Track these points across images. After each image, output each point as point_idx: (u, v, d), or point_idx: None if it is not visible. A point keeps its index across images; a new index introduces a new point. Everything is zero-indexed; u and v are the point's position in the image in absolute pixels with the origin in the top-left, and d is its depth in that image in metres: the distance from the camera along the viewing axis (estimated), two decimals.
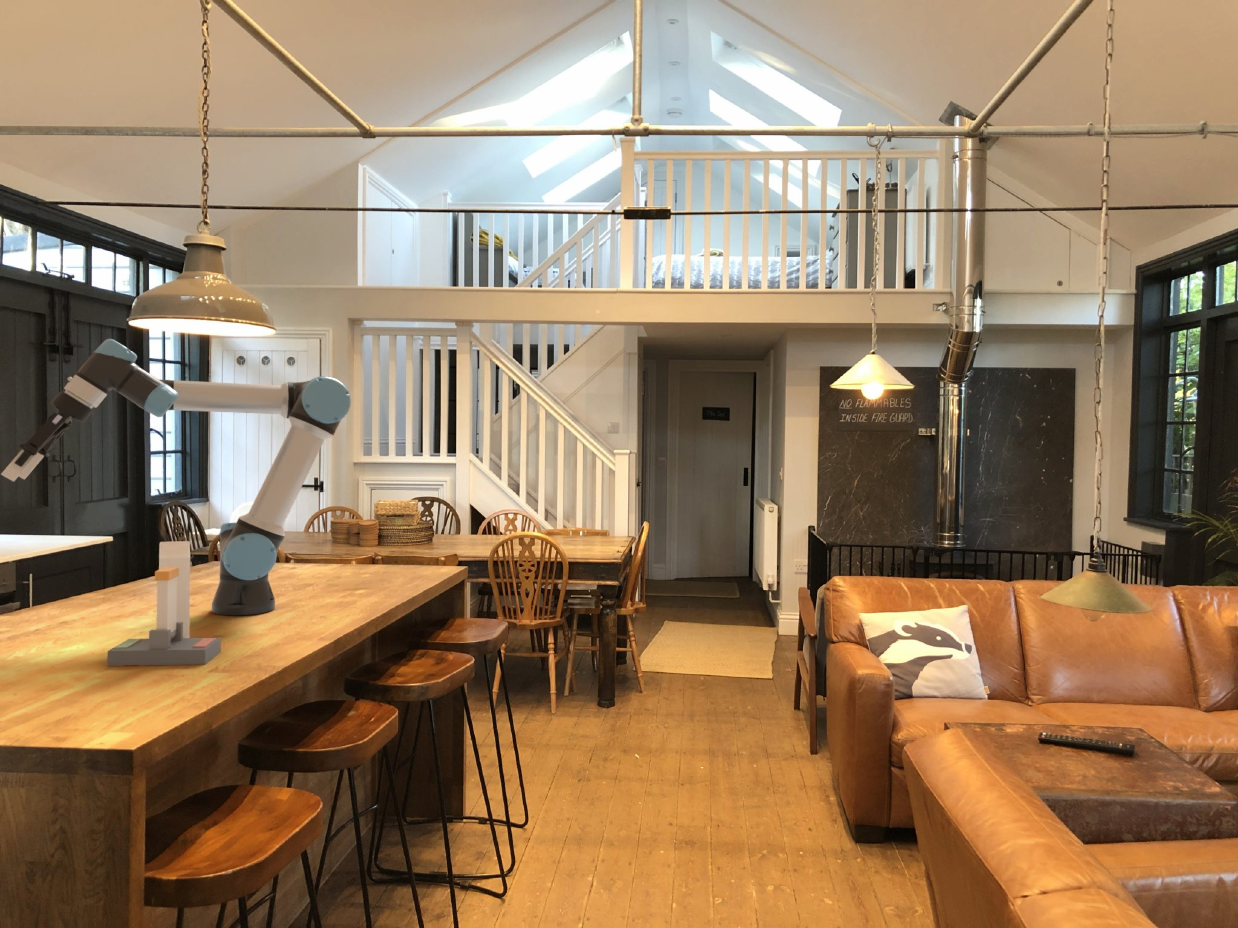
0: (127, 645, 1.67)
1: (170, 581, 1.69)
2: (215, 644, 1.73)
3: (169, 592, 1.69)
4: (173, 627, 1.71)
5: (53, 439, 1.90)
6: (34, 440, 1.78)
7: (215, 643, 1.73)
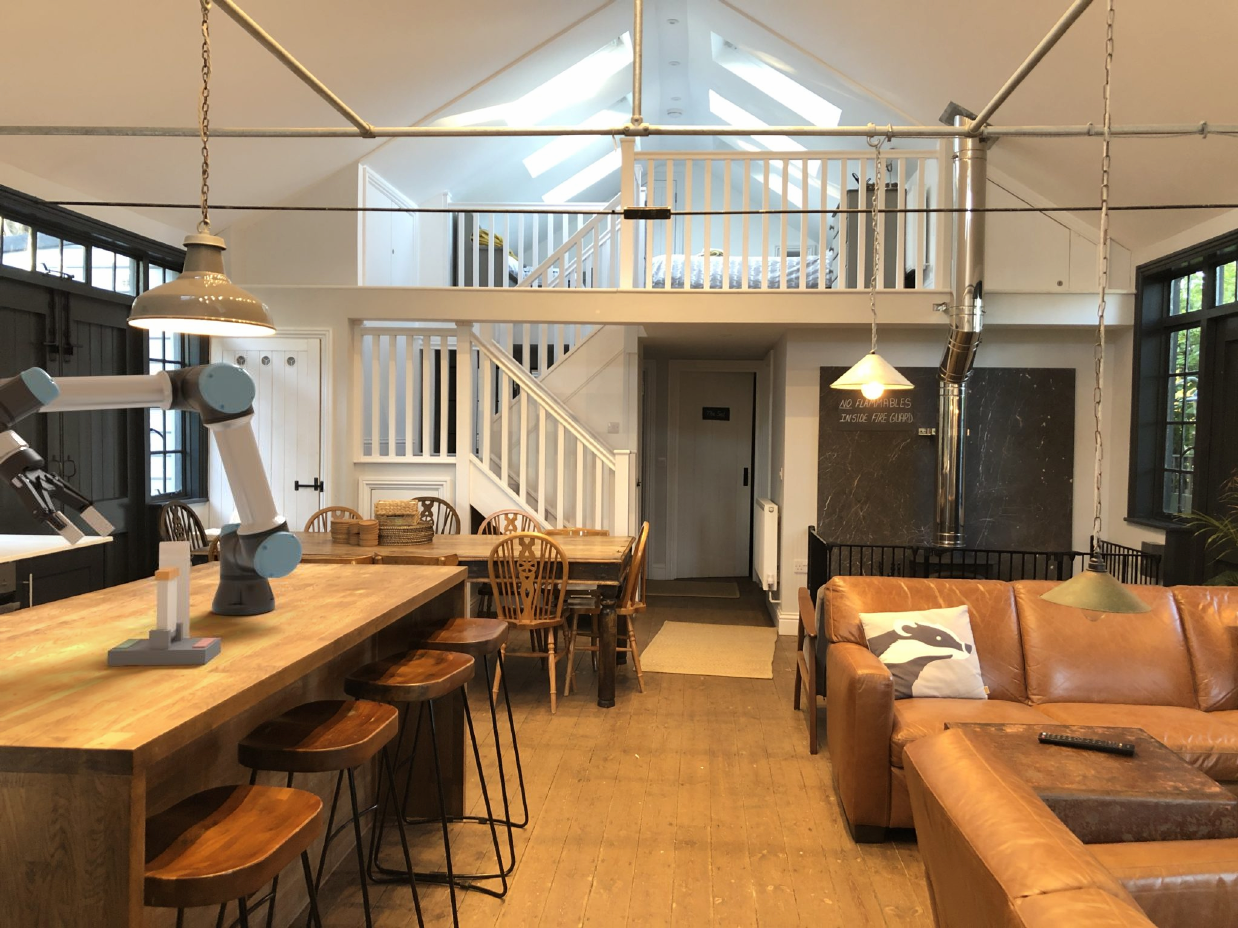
0: (127, 645, 1.67)
1: (170, 581, 1.69)
2: (215, 644, 1.73)
3: (169, 592, 1.69)
4: (173, 627, 1.71)
5: (66, 492, 1.70)
6: (32, 507, 1.57)
7: (215, 643, 1.73)
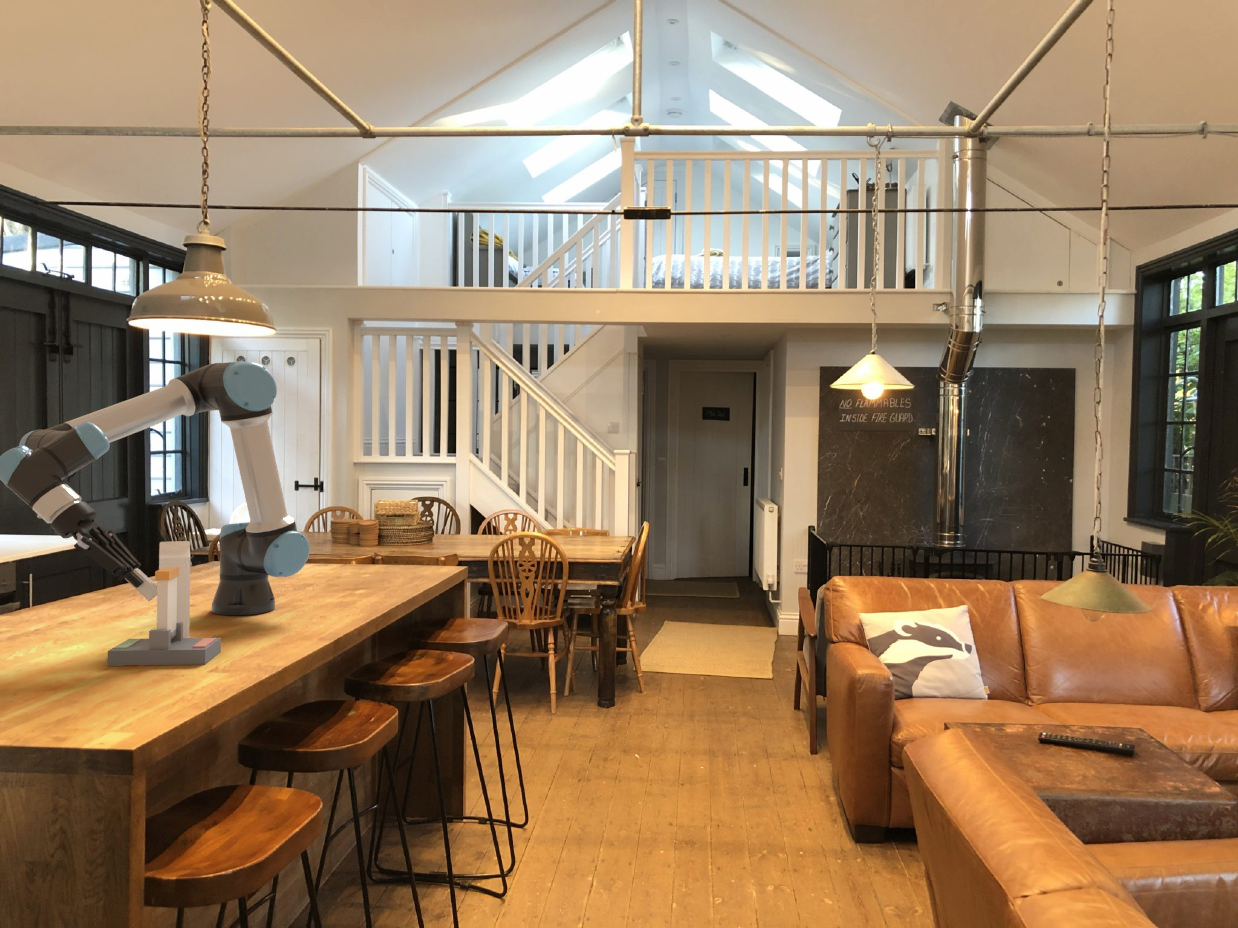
0: (127, 645, 1.67)
1: (170, 581, 1.69)
2: (215, 644, 1.73)
3: (169, 592, 1.69)
4: (173, 627, 1.71)
5: (113, 548, 1.69)
6: (110, 568, 1.64)
7: (215, 643, 1.73)
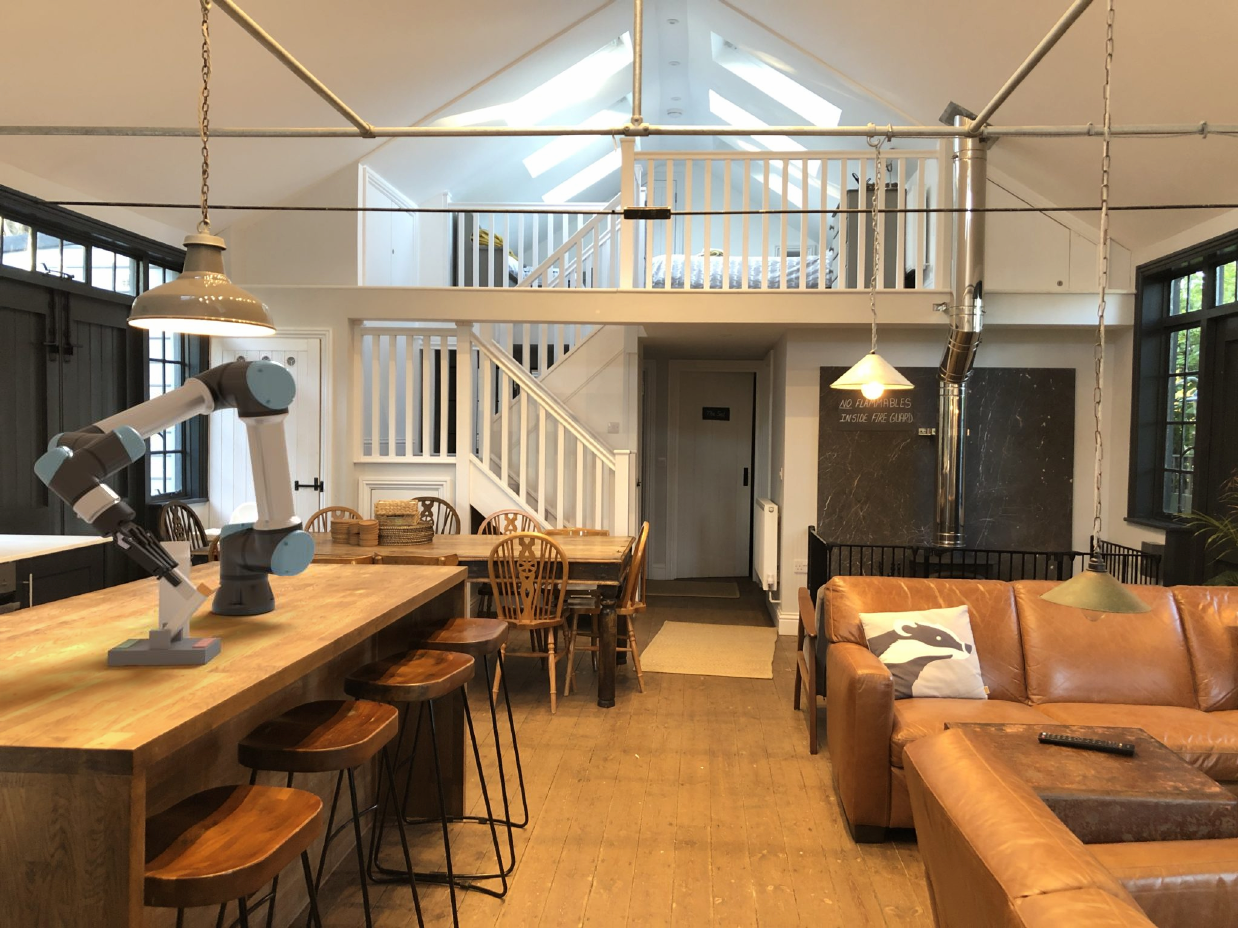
0: (127, 645, 1.67)
1: (206, 596, 1.70)
2: (215, 644, 1.73)
3: (198, 605, 1.70)
4: (176, 632, 1.71)
5: (152, 548, 1.70)
6: (150, 567, 1.66)
7: (215, 643, 1.73)
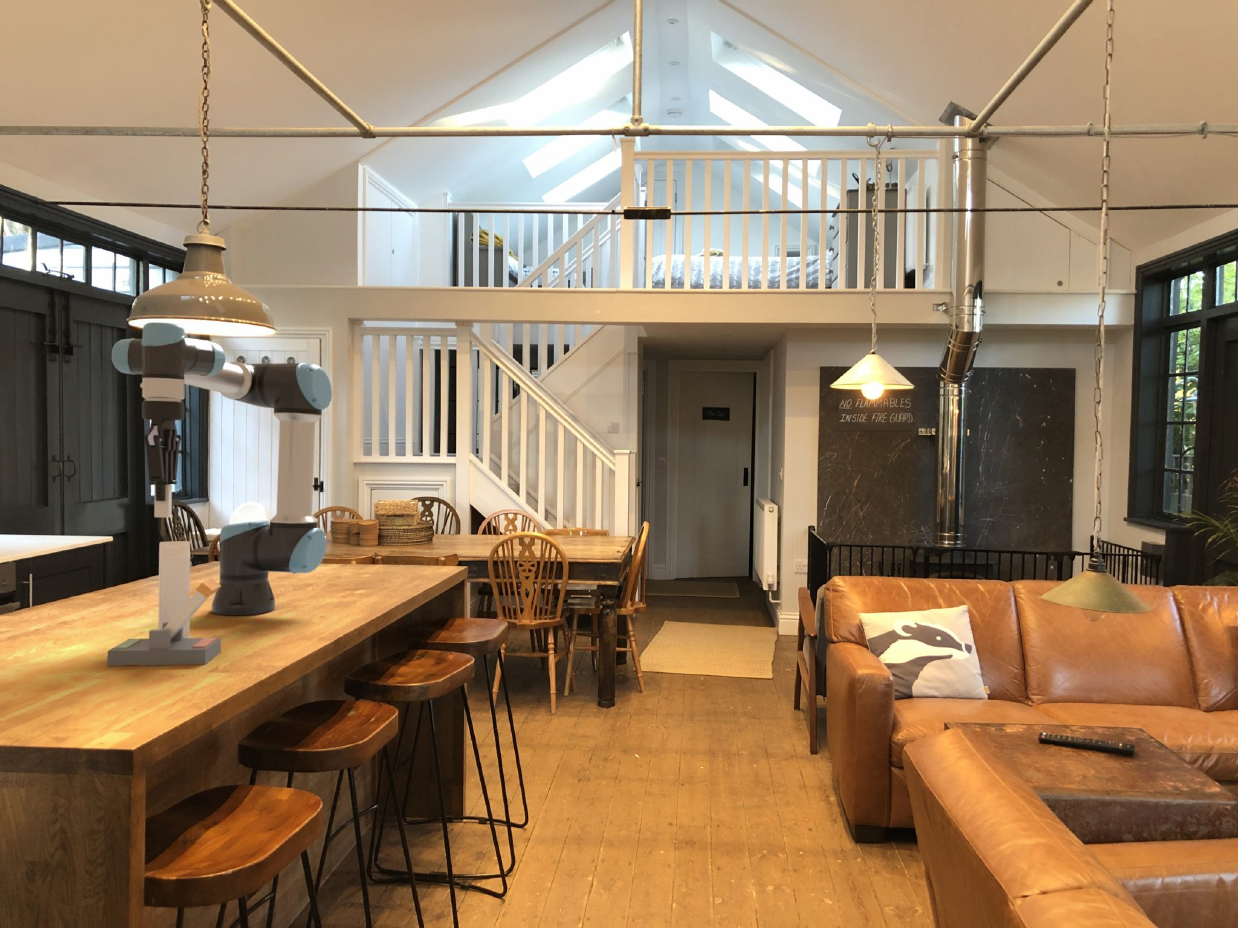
0: (127, 645, 1.67)
1: (206, 596, 1.70)
2: (215, 644, 1.73)
3: (198, 605, 1.70)
4: (176, 632, 1.71)
5: (169, 455, 1.70)
6: (153, 472, 1.65)
7: (215, 643, 1.73)
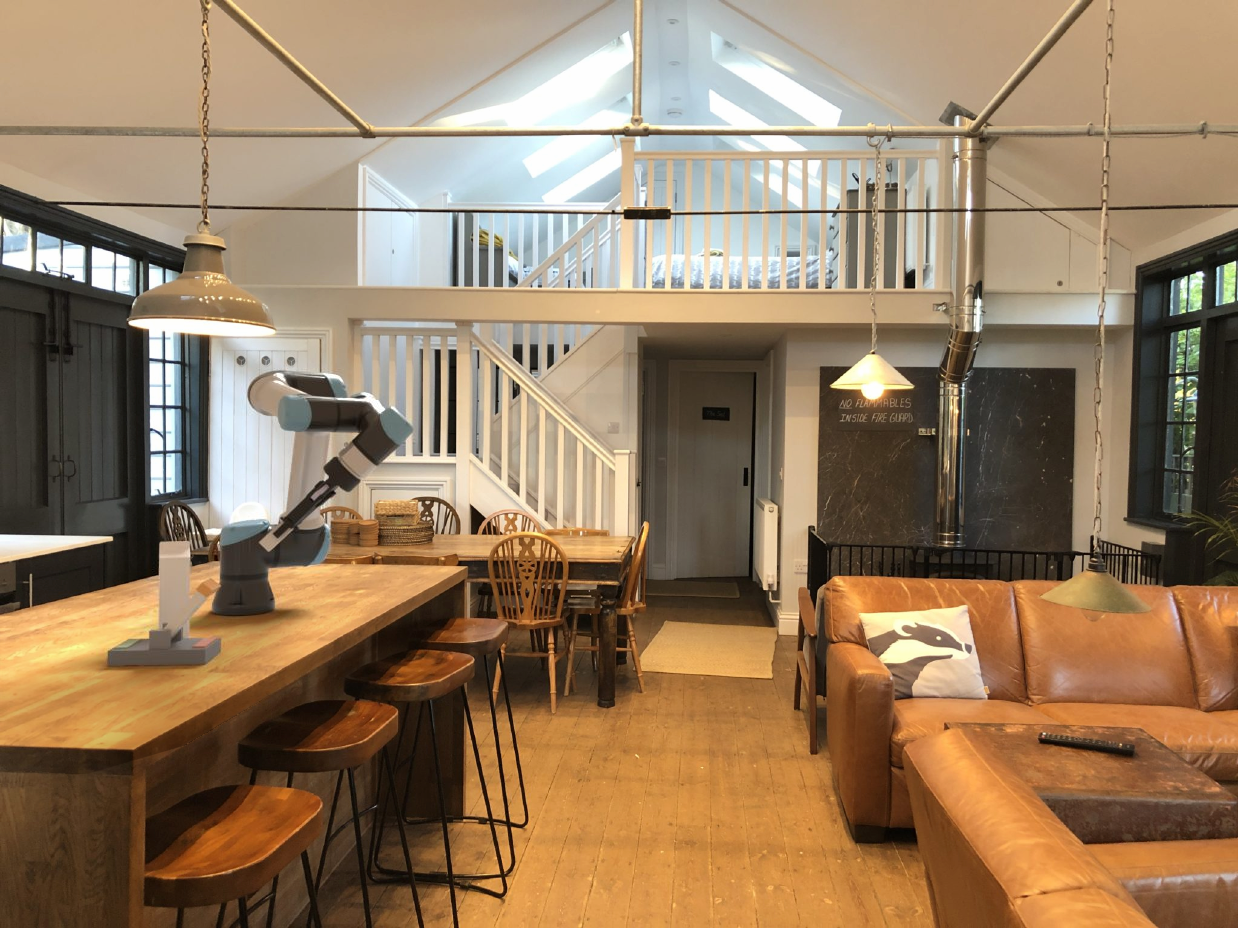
0: (127, 645, 1.67)
1: (206, 596, 1.70)
2: (215, 644, 1.73)
3: (198, 605, 1.70)
4: (176, 632, 1.71)
5: (313, 507, 1.75)
6: (291, 516, 1.70)
7: (215, 643, 1.73)
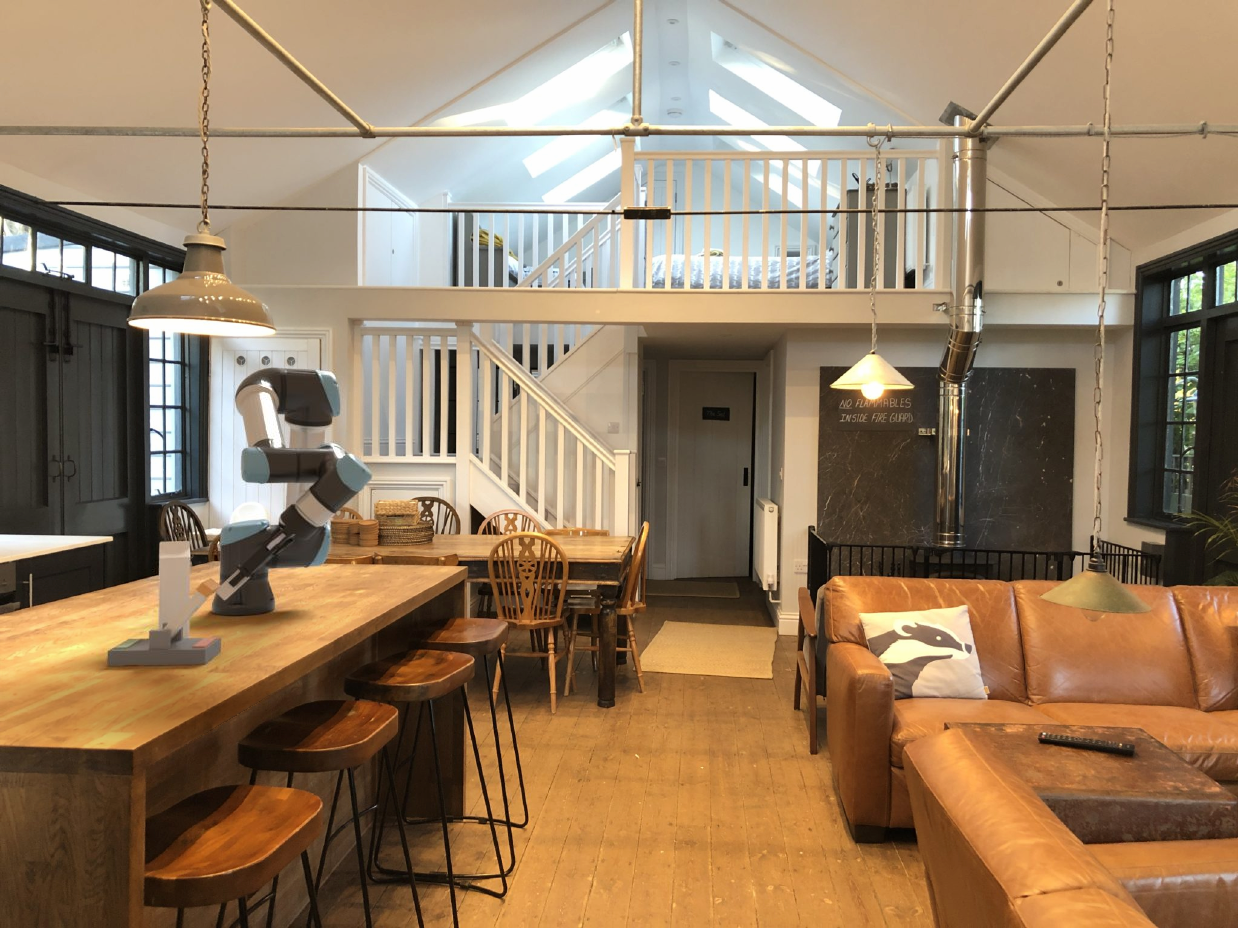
0: (127, 645, 1.67)
1: (206, 596, 1.70)
2: (215, 644, 1.73)
3: (198, 605, 1.70)
4: (176, 632, 1.71)
5: (270, 555, 1.74)
6: (247, 565, 1.69)
7: (215, 643, 1.73)
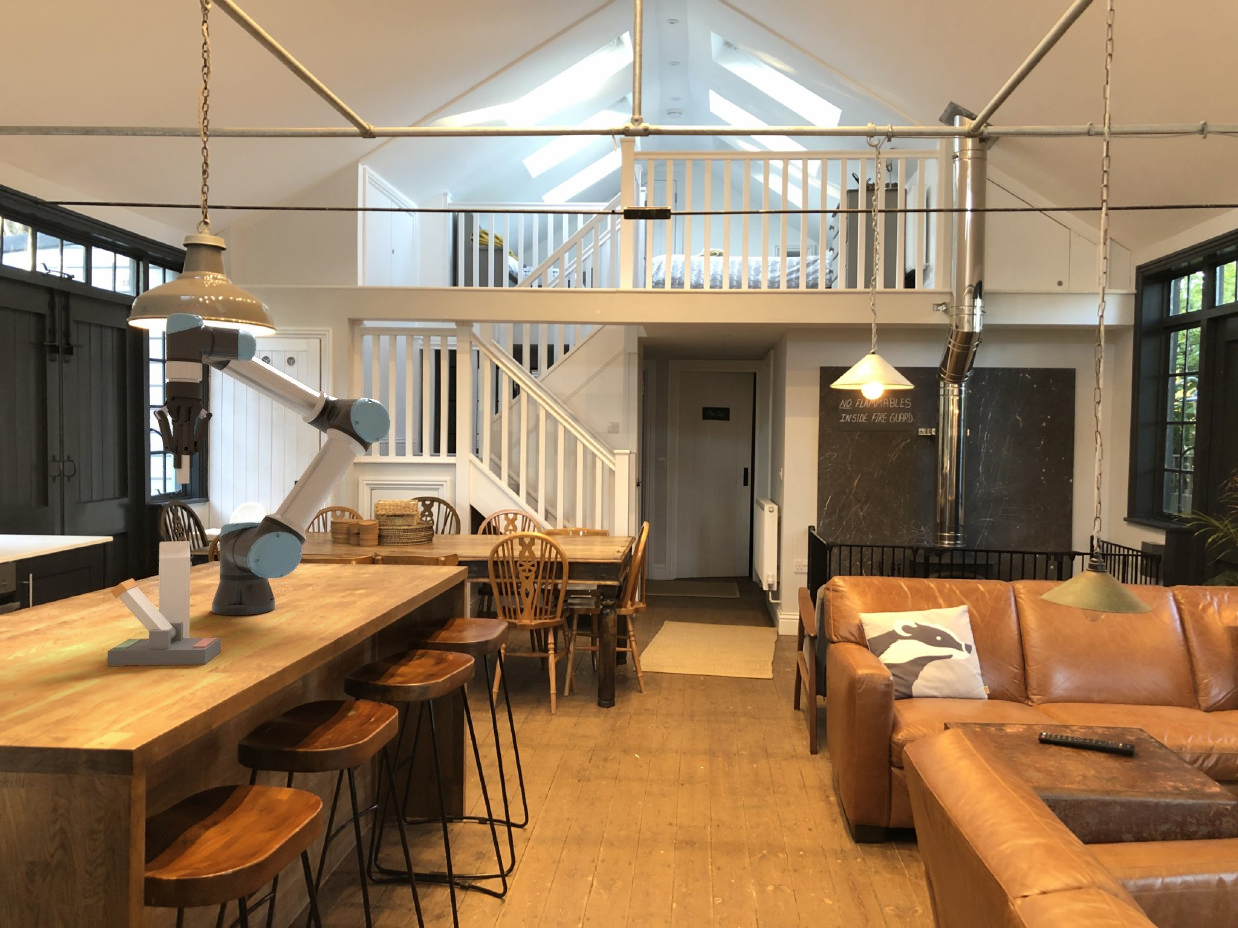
0: (127, 645, 1.67)
1: (131, 591, 1.68)
2: (215, 644, 1.73)
3: (137, 599, 1.68)
4: (167, 626, 1.71)
5: (188, 429, 1.94)
6: (164, 443, 1.91)
7: (215, 643, 1.73)
